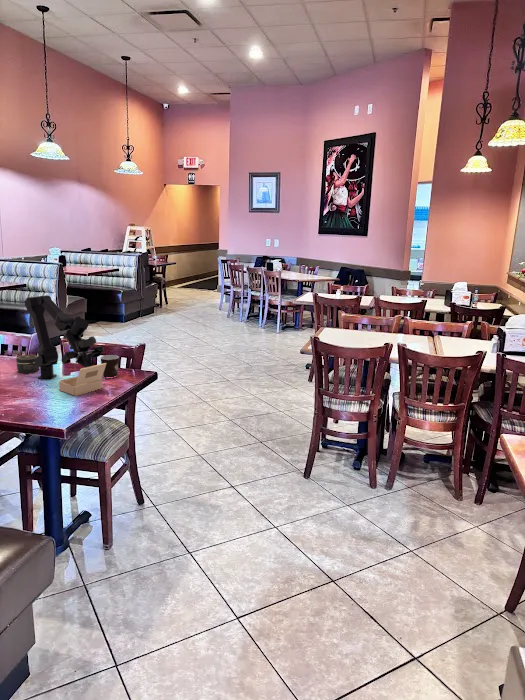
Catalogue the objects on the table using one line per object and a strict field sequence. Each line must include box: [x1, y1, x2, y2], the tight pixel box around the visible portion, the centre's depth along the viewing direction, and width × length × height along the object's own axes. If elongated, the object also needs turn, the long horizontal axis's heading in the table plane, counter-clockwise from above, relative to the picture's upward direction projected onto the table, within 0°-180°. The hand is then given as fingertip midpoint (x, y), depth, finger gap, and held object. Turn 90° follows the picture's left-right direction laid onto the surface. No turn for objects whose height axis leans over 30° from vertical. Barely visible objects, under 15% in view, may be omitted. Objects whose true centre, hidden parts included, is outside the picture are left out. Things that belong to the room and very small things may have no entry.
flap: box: [76, 363, 106, 386], centre depth 220 cm, size 1×13×9 cm, turn 145°
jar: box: [15, 354, 40, 375], centre depth 248 cm, size 10×10×8 cm
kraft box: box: [58, 375, 104, 397], centre depth 226 cm, size 12×15×4 cm
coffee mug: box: [99, 354, 120, 378], centre depth 246 cm, size 12×9×10 cm
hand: (92, 370), depth 219 cm, fingers closed, pressing on flap
